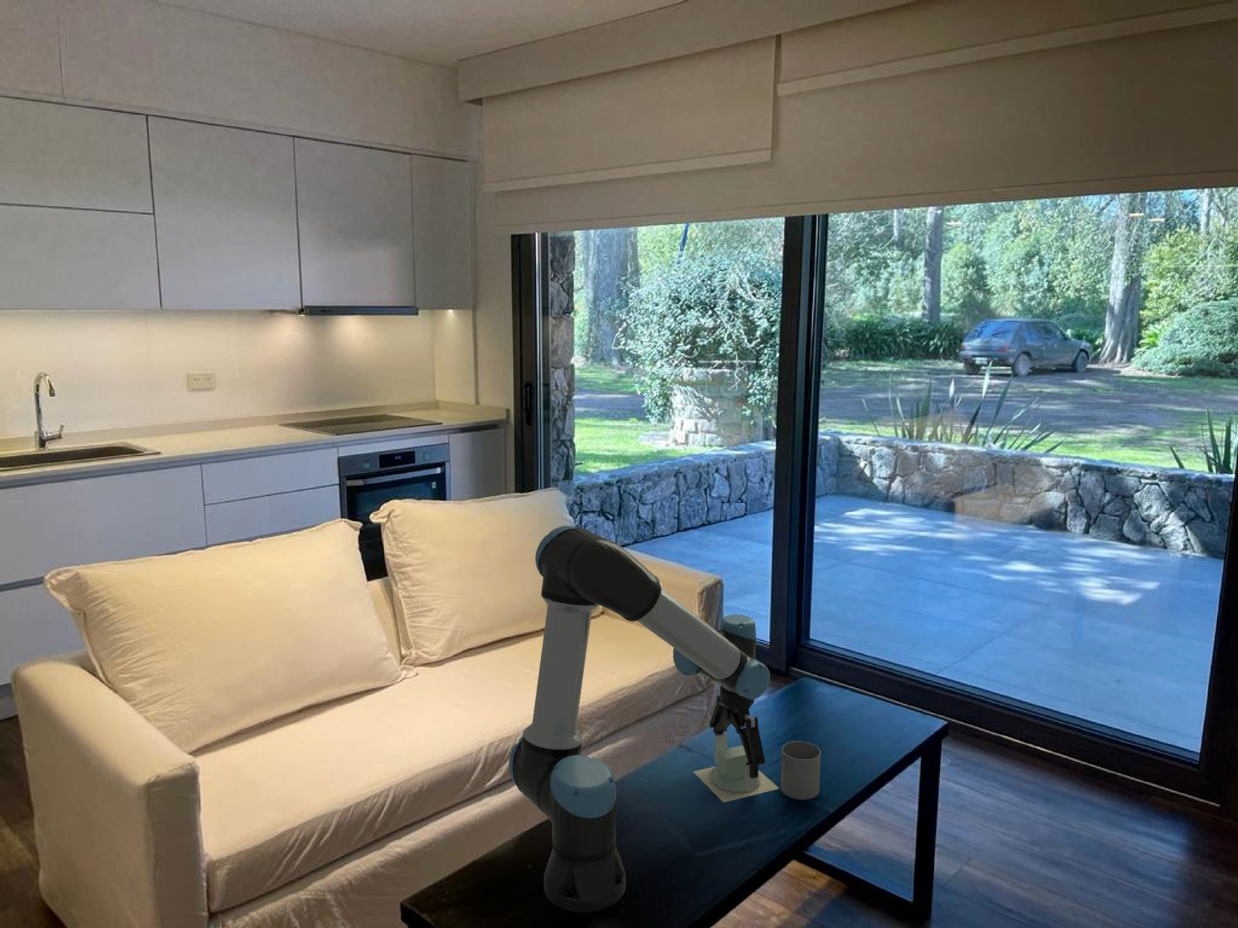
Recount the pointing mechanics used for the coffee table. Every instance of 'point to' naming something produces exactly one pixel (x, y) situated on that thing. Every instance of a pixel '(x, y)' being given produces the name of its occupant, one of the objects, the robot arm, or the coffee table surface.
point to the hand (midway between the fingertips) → (735, 774)
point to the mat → (728, 796)
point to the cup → (800, 770)
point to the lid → (731, 770)
